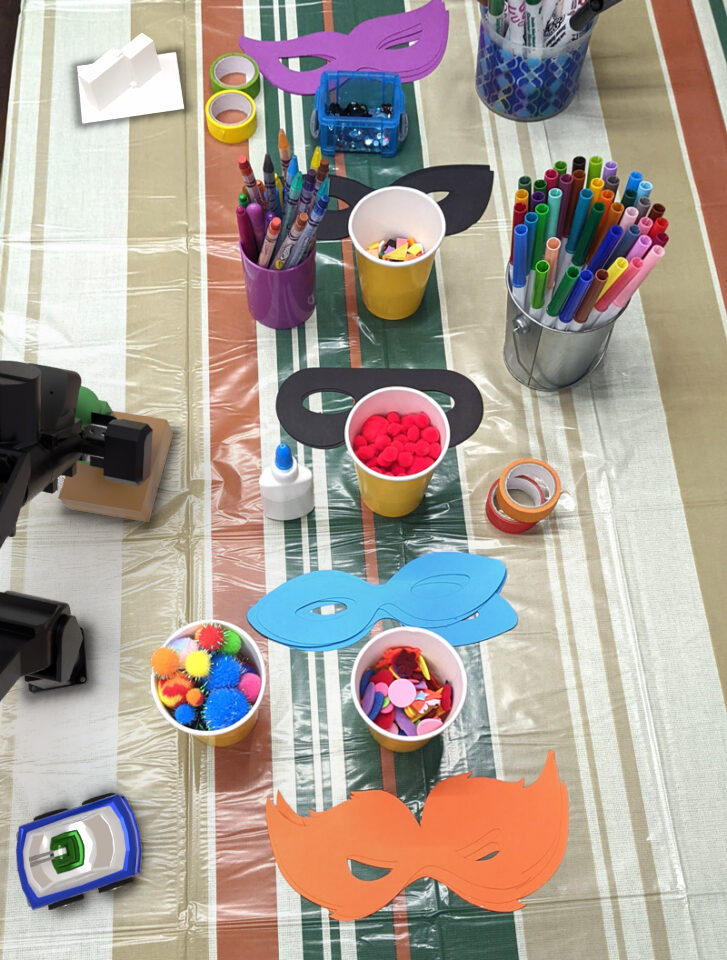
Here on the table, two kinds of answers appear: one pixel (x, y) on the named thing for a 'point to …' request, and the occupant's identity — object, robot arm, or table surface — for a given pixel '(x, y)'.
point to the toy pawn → (89, 408)
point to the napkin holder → (130, 83)
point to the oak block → (114, 497)
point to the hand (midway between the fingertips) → (94, 412)
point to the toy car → (78, 851)
